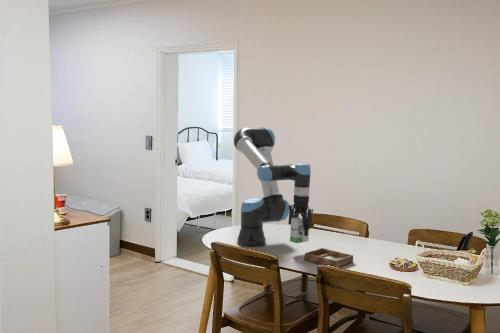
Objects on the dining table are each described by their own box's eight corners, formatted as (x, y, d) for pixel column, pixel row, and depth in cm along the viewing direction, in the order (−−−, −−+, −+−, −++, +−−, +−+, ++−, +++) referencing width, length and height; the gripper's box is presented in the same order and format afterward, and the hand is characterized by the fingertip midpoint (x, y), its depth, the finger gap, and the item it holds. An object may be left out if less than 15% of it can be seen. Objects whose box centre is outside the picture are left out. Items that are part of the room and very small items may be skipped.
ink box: (296, 243, 258) (297, 220, 257) (289, 241, 262) (290, 218, 260) (308, 241, 264) (310, 218, 262) (302, 238, 267) (303, 216, 266)
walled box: (304, 260, 251) (304, 253, 251) (321, 254, 261) (321, 247, 261) (336, 268, 239) (336, 261, 238) (352, 262, 249) (353, 255, 249)
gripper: (282, 192, 263) (280, 237, 266) (312, 198, 250) (309, 246, 254) (291, 191, 268) (289, 235, 272) (321, 196, 256) (318, 243, 259)
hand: (299, 240), depth 263 cm, fingers closed on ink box, 5 cm apart
